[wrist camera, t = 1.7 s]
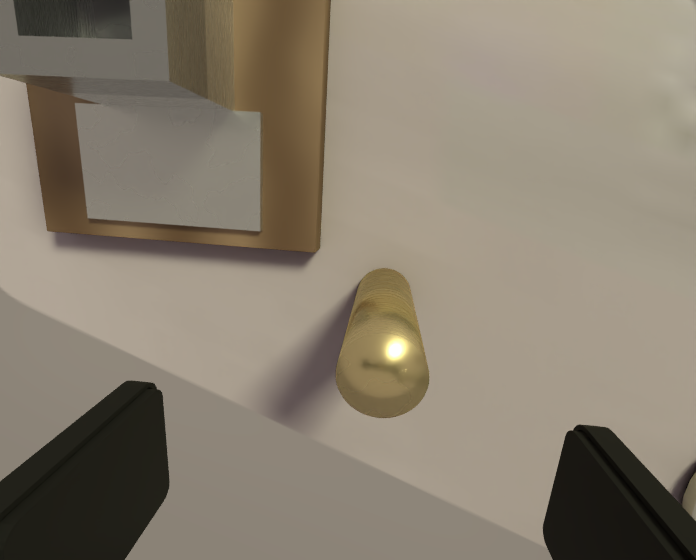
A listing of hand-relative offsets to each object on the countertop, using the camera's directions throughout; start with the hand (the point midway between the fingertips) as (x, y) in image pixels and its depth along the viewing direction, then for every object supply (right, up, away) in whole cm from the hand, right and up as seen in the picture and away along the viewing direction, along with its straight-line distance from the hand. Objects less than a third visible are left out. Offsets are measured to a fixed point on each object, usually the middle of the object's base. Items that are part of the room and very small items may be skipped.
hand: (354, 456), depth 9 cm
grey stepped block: (-9, +16, +10) cm, 21 cm away
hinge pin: (+2, +3, +14) cm, 14 cm away
